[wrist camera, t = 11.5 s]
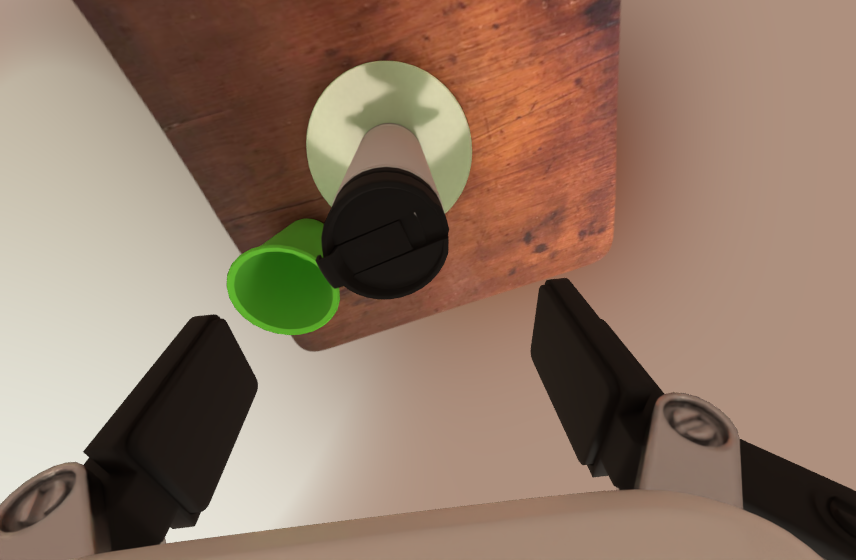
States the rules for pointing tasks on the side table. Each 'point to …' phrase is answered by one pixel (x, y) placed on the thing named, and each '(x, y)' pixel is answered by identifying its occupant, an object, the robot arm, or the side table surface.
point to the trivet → (389, 103)
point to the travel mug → (385, 219)
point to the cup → (284, 282)
